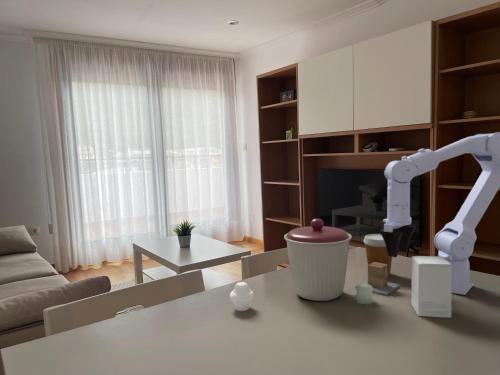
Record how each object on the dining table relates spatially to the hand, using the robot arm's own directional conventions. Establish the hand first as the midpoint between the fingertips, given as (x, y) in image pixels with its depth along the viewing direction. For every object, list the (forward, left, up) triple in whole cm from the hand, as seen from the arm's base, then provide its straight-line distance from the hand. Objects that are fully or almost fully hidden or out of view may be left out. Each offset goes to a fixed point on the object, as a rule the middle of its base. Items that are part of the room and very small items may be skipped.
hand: (398, 253), depth 104 cm
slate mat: (+1, -5, -10) cm, 12 cm away
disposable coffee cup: (-10, -10, -11) cm, 18 cm away
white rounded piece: (+36, -26, -11) cm, 45 cm away
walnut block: (+1, -5, -10) cm, 11 cm away
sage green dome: (+13, -4, -11) cm, 17 cm away
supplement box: (+9, +11, -11) cm, 18 cm away
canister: (+16, -16, -11) cm, 25 cm away
